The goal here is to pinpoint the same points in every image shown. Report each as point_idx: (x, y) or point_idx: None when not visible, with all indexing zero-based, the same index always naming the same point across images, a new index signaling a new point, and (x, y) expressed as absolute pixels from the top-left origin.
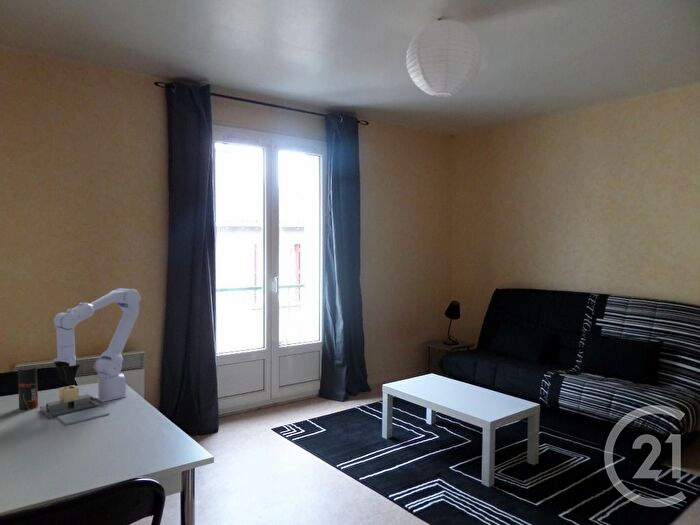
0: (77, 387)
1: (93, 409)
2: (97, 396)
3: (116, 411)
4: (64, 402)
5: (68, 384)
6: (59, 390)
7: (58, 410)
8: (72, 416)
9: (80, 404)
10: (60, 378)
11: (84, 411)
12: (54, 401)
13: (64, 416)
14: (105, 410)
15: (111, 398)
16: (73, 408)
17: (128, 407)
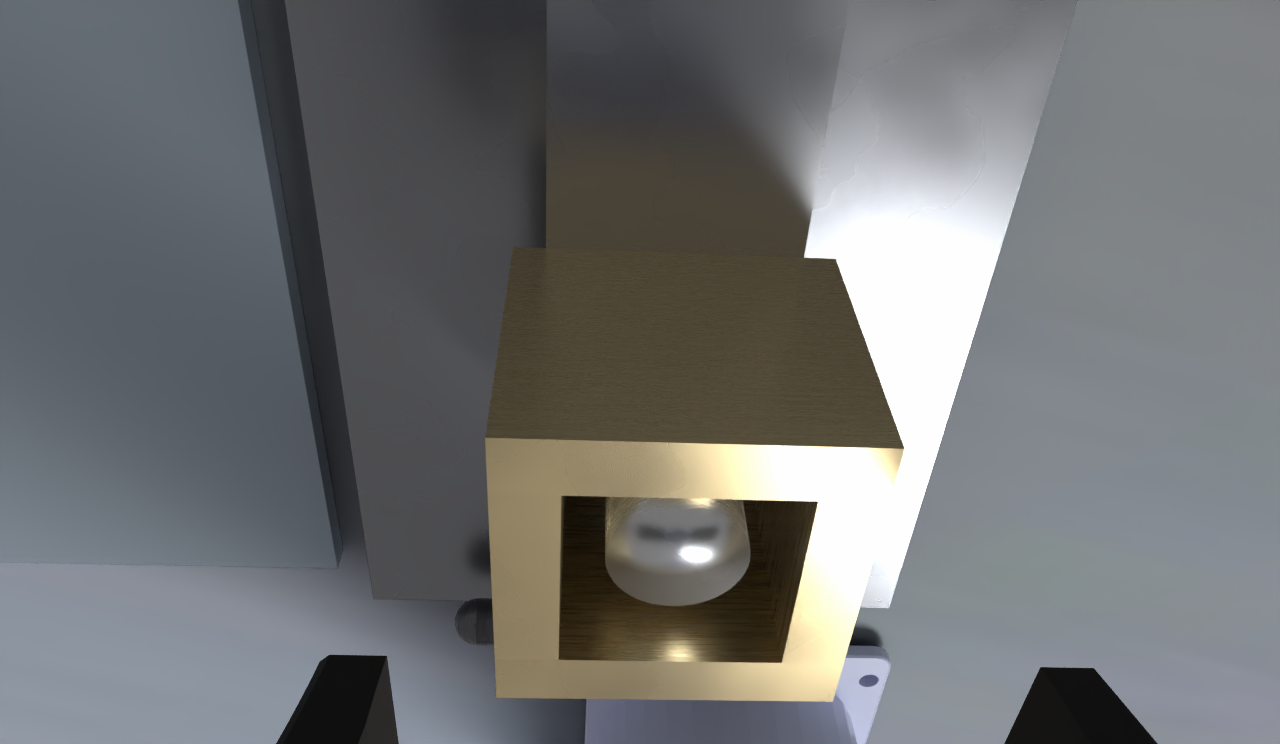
0: (535, 690)
1: (241, 484)
2: (877, 678)
3: (27, 624)
4: (514, 262)
5: (323, 667)
6: (871, 400)
7: (453, 63)
8: (21, 153)
9: None
10: (1078, 718)
11: (220, 375)
12: (813, 146)
13: (121, 48)
14: (66, 562)
15: (600, 739)
16: (379, 299)
17: (123, 735)
